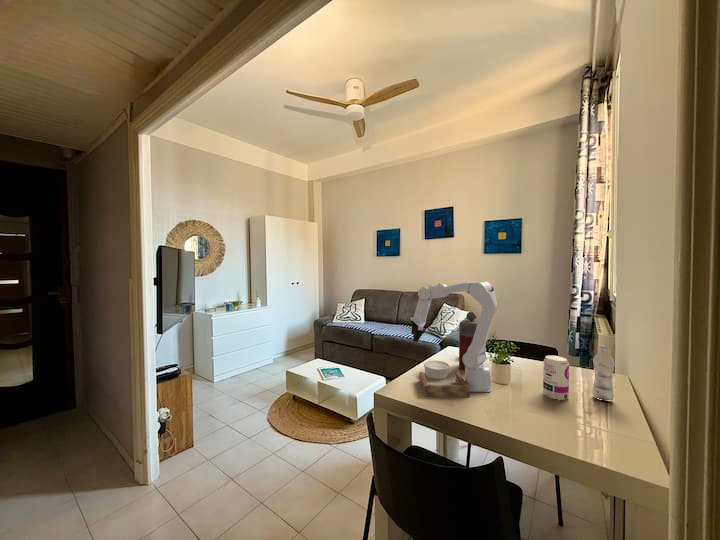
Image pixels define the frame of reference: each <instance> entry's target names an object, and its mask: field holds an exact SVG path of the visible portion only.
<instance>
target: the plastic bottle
mask: <svg viewBox="0 0 720 540" xmlns="http://www.w3.org/2000/svg"><path fill="white" fill-rule="evenodd" d="M611 353H612V352H611V348H610V347H608V346H604V345H598V346H597V353H596V355H594V357H593V359H592V362H593V369H594V372H593V373H594V379H593V385H592V389H591V393H592V396H593V398H595V397H596V398H599V399H602V400H612V401H613V400H614V397H615V393H614V387H613V377H614V376H613V375H614V370H615V366H616V363H615V360H614V359H613V357H612V356H611ZM596 398H595V399H596Z"/></svg>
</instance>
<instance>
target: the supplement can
mask: <svg viewBox="0 0 720 540" xmlns="http://www.w3.org/2000/svg"><path fill="white" fill-rule="evenodd" d="M542 375H543V378H542V379H543V380H542V383H543V384H542V388H543V389H542V392H543V394H544V396H545V395H546V397H547V396H548V397H550V398H549V399H551V398H553V399H552V400H554V399H559V400H558V401H560V400H563V401H566V400H568V399H569V394H570V393H569V390H570V362H569V361H568V358H566V357H565V356H559V355H545V358H544V359H543V374H542ZM548 397H547V398H548ZM565 399H566V400H565Z"/></svg>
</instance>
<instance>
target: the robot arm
mask: <svg viewBox="0 0 720 540" xmlns="http://www.w3.org/2000/svg"><path fill="white" fill-rule="evenodd" d="M460 292H465V293H466V294H467V295H470V296H471V297H472V299H474V300H475V301H477V302H478V303H479V305H480V306H481V308H482V309H481V311H480V315H479V318H478V320H479V321H478V324H477V327H476V331H475V334H474V337H473V340H472V343H471V345H470V346H469V348H468V350H467V352H466V353H465V354H464V355H463V363H464V365H465V371H464V380H465V382H466V383H467V384H468V386H469V393H470V392H475V393H476V392H477V393H478V392H479V393H491V392H492V390H491V379H492V378H491V377H492V376H491V370H490V368H489V367H488V366H484V363H485V361H486V359H487V353H486V352H487V347H486V344H487V342H488V338H489V336H490V332H491V329H492V326H493V323H494V320H495V316H496V313H497V310H498V305H499V304H498V302H497V301H498V300H497V297H496V289H495V287H494V286H493V284H492V283H490V282H489V281H487V280H485V281H468V282H462V283H458V284H457V283H456V284H453V285H447V284H446V283H442V282H441V283H439V282H438V283H437V285H431V284H430V285H428V286H426V287H425V286H423V287H420V288H419V289H418V292H417V295H418V301H417V304H416V308H415V311H414V314H413V317H410V321H411V334H412V337H413V338H412V341H413V342H415V343H418V342H419V340H420V339H421V337H422V335H423V334H424V333H426V328H424V327H425V325H426V321H427V317H428V314H429V310H430V306H431V303H432V301H433V299H439V298H447V297H448V296H449V294H452V293H453V294H454V293H460Z"/></svg>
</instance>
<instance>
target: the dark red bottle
mask: <svg viewBox="0 0 720 540" xmlns="http://www.w3.org/2000/svg"><path fill="white" fill-rule="evenodd" d="M477 316H478V315H477V313H476V312H475V311H473V310H471V311H468V312H466V318H465V319H463V320H461V321H459V323H458V329H459V331H458V333H459V335H458V336H459V338H458V341H459V343H458V345H459V346H458V370H459V371H463V370H464V371H463V372H465V365H464V363H463V355H464V354H465V353H466V352H467V350H468V348H469V346H470V345H471V343H472V340H473V337H474V334H475V331H476V327H477V324H478V321H479V319H477Z"/></svg>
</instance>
